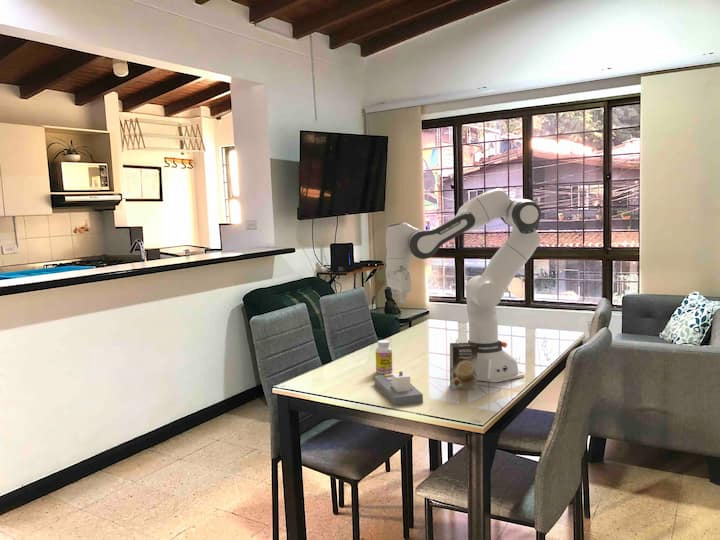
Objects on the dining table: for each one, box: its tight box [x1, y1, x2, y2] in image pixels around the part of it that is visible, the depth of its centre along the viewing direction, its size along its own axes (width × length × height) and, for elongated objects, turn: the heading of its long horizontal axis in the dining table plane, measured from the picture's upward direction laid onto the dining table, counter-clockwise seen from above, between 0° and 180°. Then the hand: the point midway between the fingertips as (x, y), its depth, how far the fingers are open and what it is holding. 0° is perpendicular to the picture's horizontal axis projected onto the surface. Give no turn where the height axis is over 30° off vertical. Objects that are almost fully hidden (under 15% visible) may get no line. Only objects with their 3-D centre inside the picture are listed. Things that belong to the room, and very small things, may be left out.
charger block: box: [391, 371, 411, 393], centre depth 201 cm, size 5×5×9 cm
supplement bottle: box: [375, 339, 393, 375], centre depth 233 cm, size 7×7×13 cm
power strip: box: [373, 373, 424, 407], centre depth 207 cm, size 10×26×4 cm, turn 14°
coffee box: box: [449, 342, 478, 391], centre depth 210 cm, size 9×6×16 cm
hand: (399, 301), depth 218 cm, fingers open, 8 cm apart
